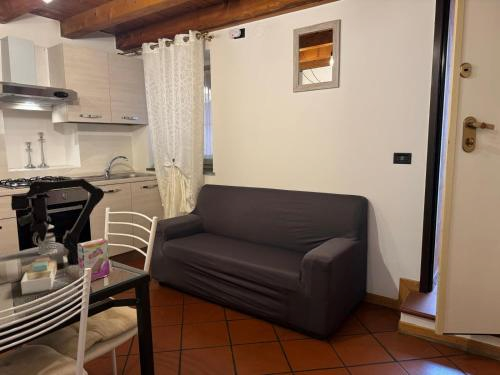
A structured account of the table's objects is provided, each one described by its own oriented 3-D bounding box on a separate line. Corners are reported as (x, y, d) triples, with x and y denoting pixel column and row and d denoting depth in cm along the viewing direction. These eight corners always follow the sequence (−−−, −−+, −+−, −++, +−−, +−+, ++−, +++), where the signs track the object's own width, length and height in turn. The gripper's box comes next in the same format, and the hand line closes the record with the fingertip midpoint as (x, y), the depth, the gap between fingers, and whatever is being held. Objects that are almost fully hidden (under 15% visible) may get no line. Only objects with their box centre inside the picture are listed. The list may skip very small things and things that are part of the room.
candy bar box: (85, 284, 142) (81, 246, 139) (79, 281, 145) (76, 243, 143) (110, 275, 150) (107, 239, 148) (104, 273, 153) (102, 237, 151)
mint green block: (48, 266, 152) (47, 261, 151) (47, 270, 147) (46, 264, 147) (35, 268, 150) (34, 262, 149) (33, 272, 145) (32, 266, 145)
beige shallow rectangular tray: (57, 267, 161) (56, 259, 161) (54, 279, 147) (53, 270, 147) (32, 270, 157) (31, 262, 157) (26, 283, 143) (25, 274, 142)
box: (54, 279, 147) (53, 268, 146) (51, 289, 137) (50, 277, 137) (26, 284, 143) (25, 272, 142) (22, 294, 133) (20, 282, 132)
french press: (62, 250, 186) (58, 205, 182) (41, 257, 176) (36, 209, 172) (50, 248, 190) (46, 204, 187) (29, 254, 180) (24, 208, 176)
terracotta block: (49, 261, 157) (49, 256, 157) (48, 265, 153) (48, 260, 152) (37, 263, 155) (36, 258, 155) (35, 267, 151) (34, 262, 150)
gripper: (22, 206, 162) (25, 238, 164) (14, 213, 145) (18, 249, 148) (49, 203, 167) (52, 235, 169) (44, 210, 150) (48, 245, 152)
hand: (42, 240), depth 159 cm, fingers closed
